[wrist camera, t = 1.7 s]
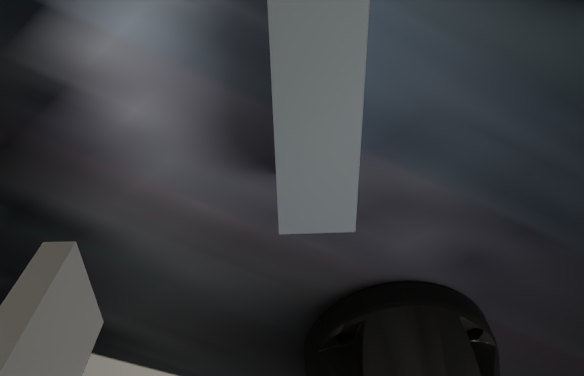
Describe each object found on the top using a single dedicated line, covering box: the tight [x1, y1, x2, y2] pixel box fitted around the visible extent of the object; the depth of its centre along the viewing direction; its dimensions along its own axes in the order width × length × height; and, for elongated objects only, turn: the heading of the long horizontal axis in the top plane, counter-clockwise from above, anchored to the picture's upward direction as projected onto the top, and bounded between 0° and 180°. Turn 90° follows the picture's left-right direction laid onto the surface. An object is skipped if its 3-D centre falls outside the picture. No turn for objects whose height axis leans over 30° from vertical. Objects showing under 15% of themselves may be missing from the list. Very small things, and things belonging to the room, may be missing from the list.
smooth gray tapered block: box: [267, 0, 370, 234], centre depth 22 cm, size 19×4×6 cm, turn 1°
